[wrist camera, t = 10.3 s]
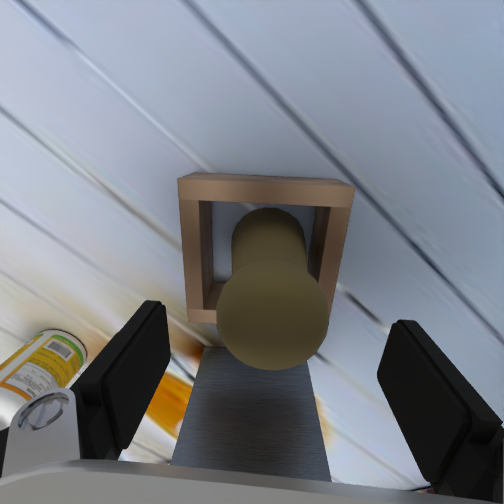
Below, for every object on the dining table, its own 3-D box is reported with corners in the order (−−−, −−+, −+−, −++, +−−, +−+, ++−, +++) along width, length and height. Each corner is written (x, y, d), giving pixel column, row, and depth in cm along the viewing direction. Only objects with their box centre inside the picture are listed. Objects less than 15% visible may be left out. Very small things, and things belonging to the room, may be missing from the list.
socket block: (336, 179, 18) (355, 187, 14) (316, 299, 22) (326, 330, 18) (194, 172, 18) (177, 178, 15) (200, 293, 22) (187, 321, 19)
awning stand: (310, 320, 23) (416, 708, 7) (303, 361, 25) (374, 736, 9) (203, 314, 23) (73, 674, 7) (205, 355, 25) (106, 709, 9)
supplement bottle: (43, 366, 27) (-68, 475, 18) (29, 326, 25) (-105, 427, 16) (92, 370, 27) (6, 482, 18) (82, 330, 25) (-22, 434, 16)
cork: (226, 210, 19) (185, 280, 9) (304, 203, 19) (353, 268, 9) (236, 278, 22) (212, 394, 11) (306, 274, 21) (345, 390, 11)
